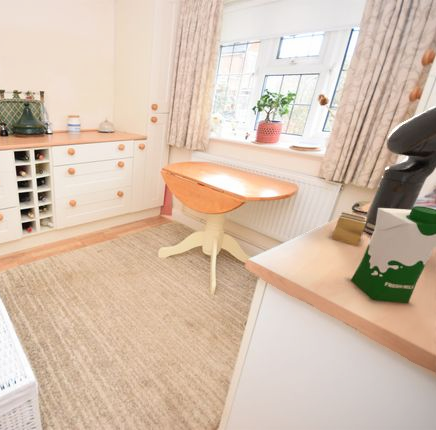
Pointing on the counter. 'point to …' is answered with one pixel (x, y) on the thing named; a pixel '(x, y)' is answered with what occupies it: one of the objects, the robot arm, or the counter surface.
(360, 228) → the tan block
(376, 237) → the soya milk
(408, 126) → the robot arm
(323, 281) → the counter surface
